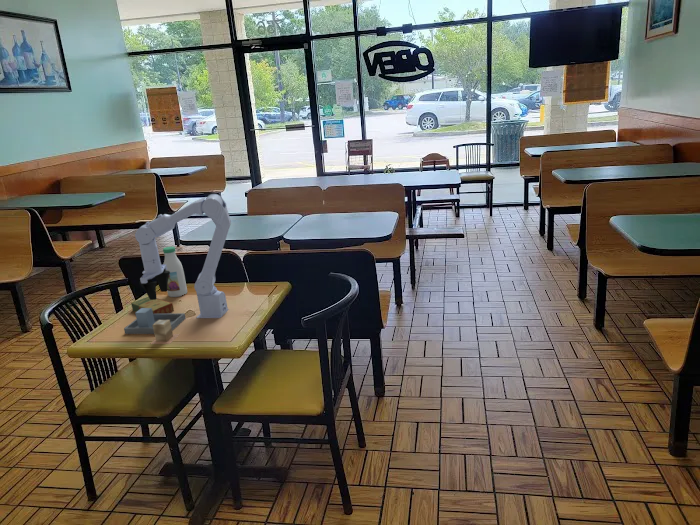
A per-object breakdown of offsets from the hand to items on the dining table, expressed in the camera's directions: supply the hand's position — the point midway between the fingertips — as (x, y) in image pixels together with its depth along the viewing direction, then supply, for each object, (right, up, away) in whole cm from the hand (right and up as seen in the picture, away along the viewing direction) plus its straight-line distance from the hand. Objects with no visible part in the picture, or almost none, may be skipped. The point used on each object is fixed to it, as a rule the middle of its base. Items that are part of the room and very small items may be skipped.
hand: (158, 295), depth 186 cm
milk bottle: (-3, -2, +29) cm, 29 cm away
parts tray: (0, -11, -2) cm, 11 cm away
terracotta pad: (+7, -14, -13) cm, 20 cm away
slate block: (-4, -11, -2) cm, 11 cm away
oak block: (+7, -14, -13) cm, 20 cm away
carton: (-7, -8, +13) cm, 16 cm away
